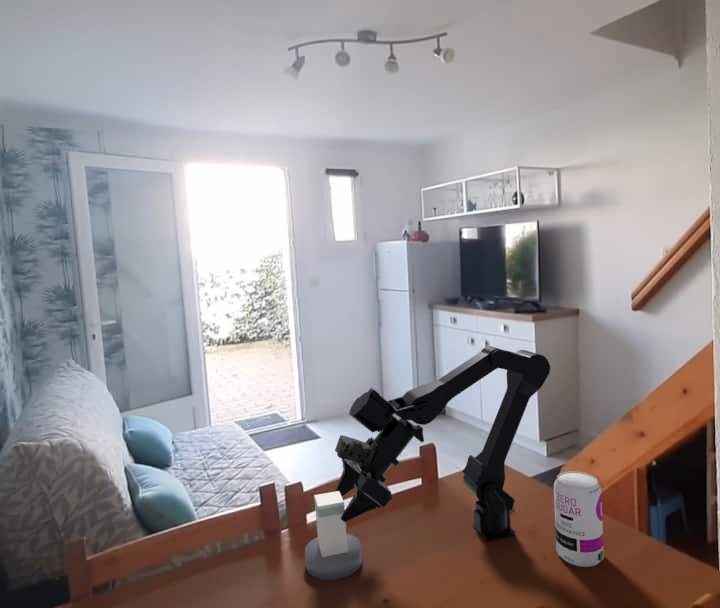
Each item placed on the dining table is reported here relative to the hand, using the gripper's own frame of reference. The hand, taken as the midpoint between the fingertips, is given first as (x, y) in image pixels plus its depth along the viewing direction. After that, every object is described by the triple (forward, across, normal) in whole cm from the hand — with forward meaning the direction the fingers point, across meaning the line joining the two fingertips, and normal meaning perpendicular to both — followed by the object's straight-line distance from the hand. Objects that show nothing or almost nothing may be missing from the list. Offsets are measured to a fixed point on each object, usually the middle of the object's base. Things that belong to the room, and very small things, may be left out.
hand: (338, 509), depth 99 cm
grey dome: (+9, 0, +6) cm, 11 cm away
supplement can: (-22, +14, +38) cm, 47 cm away
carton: (+7, 0, +4) cm, 8 cm away
